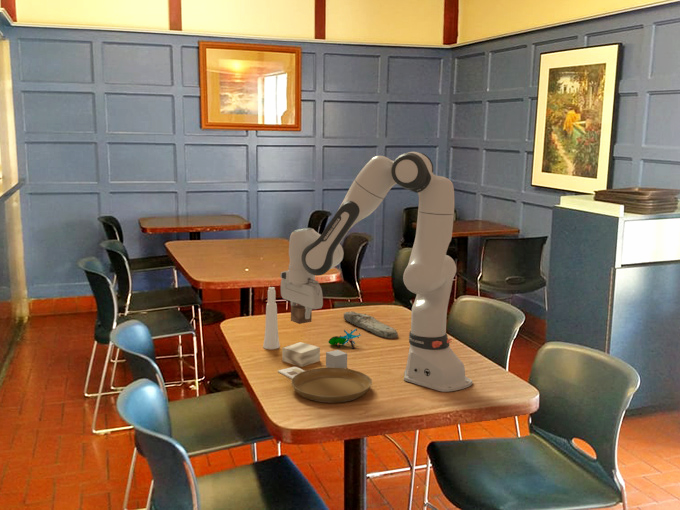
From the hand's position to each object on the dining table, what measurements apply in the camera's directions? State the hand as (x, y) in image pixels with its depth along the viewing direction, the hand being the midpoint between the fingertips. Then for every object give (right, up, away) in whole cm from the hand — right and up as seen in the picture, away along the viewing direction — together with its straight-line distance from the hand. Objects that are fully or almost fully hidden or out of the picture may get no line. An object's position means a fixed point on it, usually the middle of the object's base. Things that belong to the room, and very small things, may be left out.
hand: (301, 316), depth 228 cm
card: (-1, -18, -11) cm, 21 cm away
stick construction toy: (+15, -13, +20) cm, 28 cm away
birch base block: (0, -16, +3) cm, 16 cm away
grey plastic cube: (+12, -17, -3) cm, 21 cm away
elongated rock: (+25, -9, +45) cm, 53 cm away
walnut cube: (0, -2, 0) cm, 2 cm away
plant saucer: (+11, -20, -24) cm, 33 cm away
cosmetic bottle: (-12, -13, +17) cm, 25 cm away
